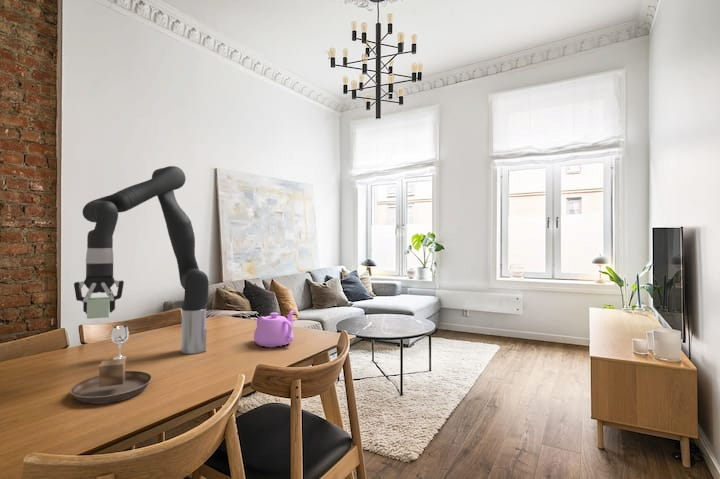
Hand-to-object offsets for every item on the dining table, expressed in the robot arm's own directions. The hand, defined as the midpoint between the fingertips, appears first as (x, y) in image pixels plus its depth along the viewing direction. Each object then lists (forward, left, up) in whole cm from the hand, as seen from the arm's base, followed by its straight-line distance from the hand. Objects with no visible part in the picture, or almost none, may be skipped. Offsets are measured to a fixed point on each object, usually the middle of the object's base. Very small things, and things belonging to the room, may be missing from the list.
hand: (99, 312), depth 131 cm
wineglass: (-4, -21, -22) cm, 31 cm away
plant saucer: (-6, +16, -22) cm, 28 cm away
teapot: (-64, -21, -22) cm, 71 cm away
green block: (0, 0, -1) cm, 1 cm away
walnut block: (-6, +16, -19) cm, 25 cm away
